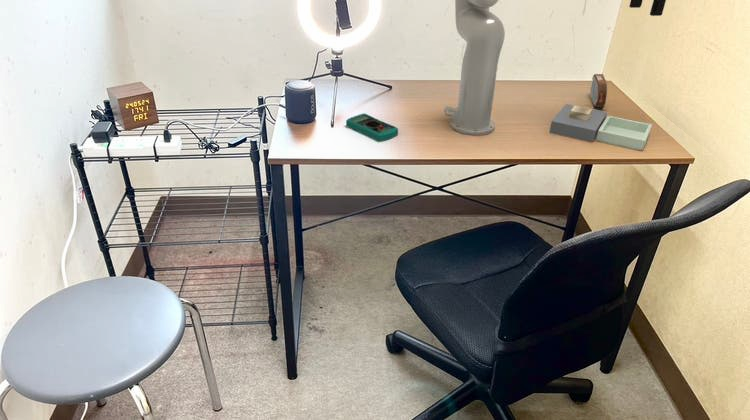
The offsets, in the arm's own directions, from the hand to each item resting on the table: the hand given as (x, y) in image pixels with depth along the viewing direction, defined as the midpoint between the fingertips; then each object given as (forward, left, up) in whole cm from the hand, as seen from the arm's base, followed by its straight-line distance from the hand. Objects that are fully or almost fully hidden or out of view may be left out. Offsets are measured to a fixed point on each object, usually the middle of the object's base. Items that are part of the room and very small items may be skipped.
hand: (644, 11), depth 149 cm
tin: (-8, +11, -32) cm, 34 cm away
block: (-8, -13, -28) cm, 32 cm away
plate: (-8, -13, -31) cm, 35 cm away
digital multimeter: (-57, -47, -32) cm, 81 cm away
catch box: (+4, -13, -31) cm, 34 cm away
